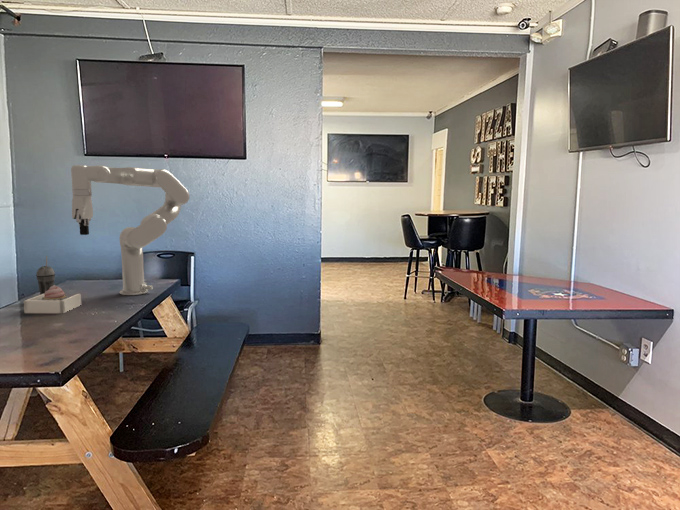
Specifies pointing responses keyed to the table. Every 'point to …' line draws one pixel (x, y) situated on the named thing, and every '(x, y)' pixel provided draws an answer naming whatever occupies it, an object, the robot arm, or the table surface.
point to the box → (51, 304)
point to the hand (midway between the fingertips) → (84, 234)
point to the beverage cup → (45, 278)
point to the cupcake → (54, 294)
